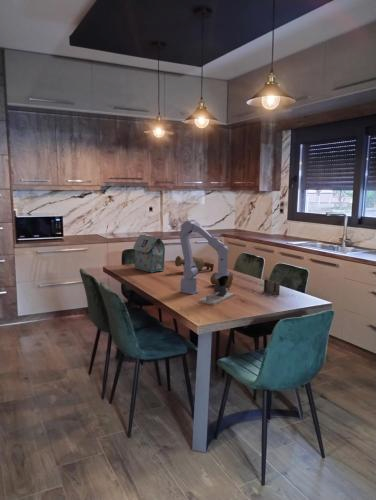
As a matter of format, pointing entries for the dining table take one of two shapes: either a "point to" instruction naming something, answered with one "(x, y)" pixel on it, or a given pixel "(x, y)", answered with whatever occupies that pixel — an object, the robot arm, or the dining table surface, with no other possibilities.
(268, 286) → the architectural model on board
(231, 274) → the brown lobed block
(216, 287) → the collar
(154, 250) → the lunch bag
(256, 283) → the dining table surface
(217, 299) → the rail board
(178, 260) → the olive brown long piece
